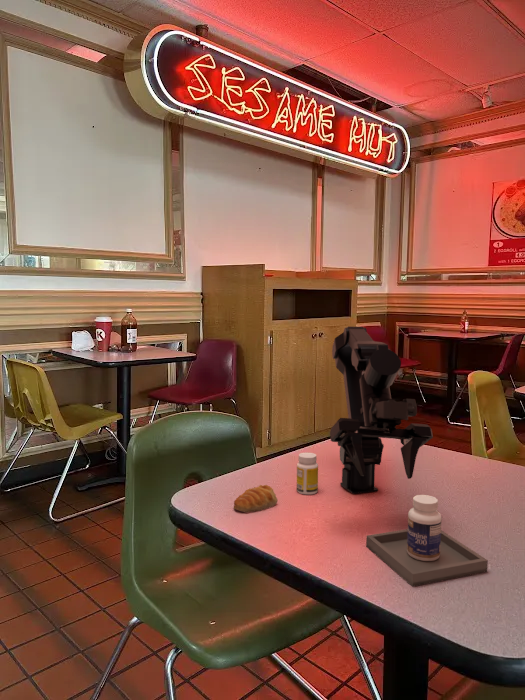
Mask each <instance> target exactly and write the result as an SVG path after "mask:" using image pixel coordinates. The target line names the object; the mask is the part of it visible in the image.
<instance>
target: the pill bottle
mask: <svg viewBox="0 0 525 700" xmlns="http://www.w3.org/2000/svg"><path fill="white" fill-rule="evenodd" d="M438 508H439V499H438V498H437V497H435V496H433V495H428V494H416V495H415V496H413V498H412V507H411V508H410V509H409V511H408V514H407V529H408V535H407V552H408V554H409V555H410V556H411V557H413V558H415V559H417V560H420V561H434V560H437V559H438V558H439V556H440V546H441V530H442V514H441V513H440V512H439V511H438Z"/></svg>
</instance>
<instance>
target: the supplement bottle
mask: <svg viewBox="0 0 525 700" xmlns="http://www.w3.org/2000/svg"><path fill="white" fill-rule="evenodd" d="M317 456H318V455H317V454H316V453H314V452H300V453H299V454H298V462H297V464H296V492H297V493H299V494H300V495H314V494H316V493H318V491H319V465H318V464H319V463H317V461H318V460H317V459H318V458H317Z"/></svg>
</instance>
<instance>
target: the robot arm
mask: <svg viewBox="0 0 525 700" xmlns="http://www.w3.org/2000/svg"><path fill="white" fill-rule="evenodd" d="M367 330H368V329H367V328H366V327H364V326H347V327H344V329H343V332H341V333H340V334H339V335H337V336H336V337H335V338H334V340H333V343H332V348H331V349H332V350H331V354H332V355H331V356H332V359H333V360H334V361H335V368H336V369H337V370H338V371H339V372H340V373H341V374H342V376H343V382H344V383H343V385H344V391H345V400H346V409H347V415H348V417H340V418H338V420H336V422H335V423H334V424H333V426H332V427H330V431H329V435H330V441H331V442H332V443H337V447H339V460H340V462H341V464H342V465H343V467H342V471H341V482H340V484H339V485H340V486H341V487H342V488H344V489H345V490H347V491H348V492H350V494H353V495H356V494H364V493H373V492H378V491H379V488H378V487H376V486H375V478H376V477H375V475H376V474H375V473H376V466H377V465H378V466H380V465H381V463H382V456H383V450H384V446H385V445H384V444H383V441H382V439H384V438H385V439H393V440H394V439H396V440H400V443H401V444H402V446H401V447H400V452H401V456H402V462H403V467H404V471H405V474H406V477H407V479H408V480H409V479H410V480H411V479H412V478H413V476H414V470H415V464H416V459H417V455H418V452H419V449H420V448H421V447H423V446H424V445H426V444H427V443H428V442H429V441H430V440H432V439H433V438H434V436H433V429H432V428H431V426H430V425H428V424H427V423H426V424H424V423H411V422H410V424H409V425H407V426H406V427H405V428H397V427H396V426H400V425H401V424H402V421H403V420H405V421H409V417H416V416H417V414H418V407H417V403H416V399H415V398H404V399H402V401H396V399H395V398H392V395H391V389H390V386H392V385H393V384H394V381H395V379H396V377H397V375H398V374H399V371H400V369H401V366H402V360H401V358H400V357H399V356H398V354H397V353H395V351H392V350H391V349H390V348H389V344H387V343H385V342H381V341H376V340H374V339H373V338H372V337H371V335H370V334H368V331H367ZM363 372H364V373H363Z"/></svg>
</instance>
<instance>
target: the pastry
mask: <svg viewBox="0 0 525 700" xmlns="http://www.w3.org/2000/svg"><path fill="white" fill-rule="evenodd" d="M277 503H278V497H277V494H276V493H275V491H274V488H272V486H269V485H267V484H262V485H261V484H259V485H258V486H257V487H256V486H255V487H254V486H253V487H252V488H247V489H246V490H244V492H243V493H242V494H240V495H238V497H237V498H236V499H234V501H233V504H234V505H233V509H234V510H236V511H239V512H242V513H251V512H260V511H263V510H265V509H269V508H270V509H271V508H272V507H274V506H276V505H277Z"/></svg>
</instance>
